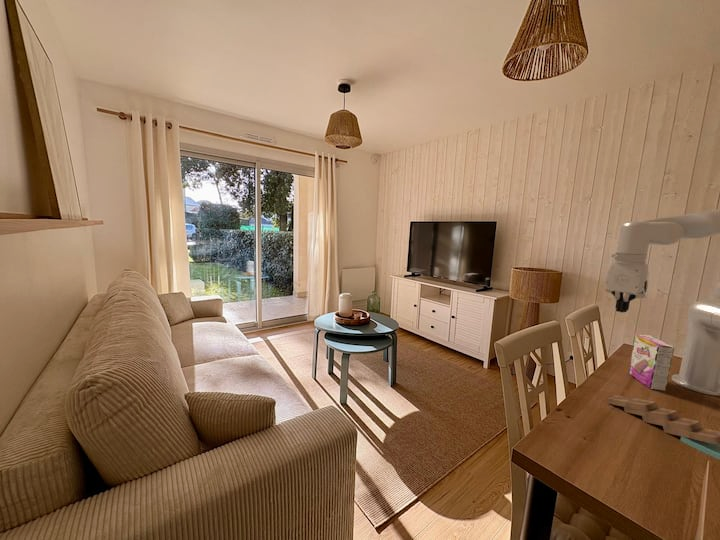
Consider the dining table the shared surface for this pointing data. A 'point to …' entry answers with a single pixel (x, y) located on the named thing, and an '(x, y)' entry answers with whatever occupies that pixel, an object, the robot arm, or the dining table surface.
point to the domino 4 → (696, 434)
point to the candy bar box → (651, 361)
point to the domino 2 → (654, 413)
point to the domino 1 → (632, 403)
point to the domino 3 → (675, 423)
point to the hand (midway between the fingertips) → (621, 311)
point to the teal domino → (703, 446)
